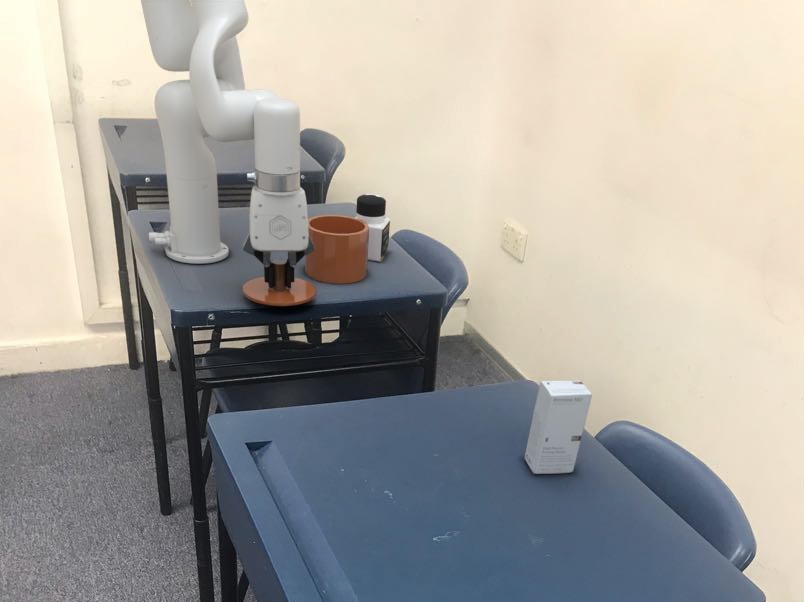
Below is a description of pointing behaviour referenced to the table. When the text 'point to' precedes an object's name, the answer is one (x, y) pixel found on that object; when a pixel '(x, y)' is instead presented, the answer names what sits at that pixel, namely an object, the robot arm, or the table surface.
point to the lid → (279, 289)
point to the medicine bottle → (374, 224)
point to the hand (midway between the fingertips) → (279, 285)
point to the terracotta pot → (337, 249)
